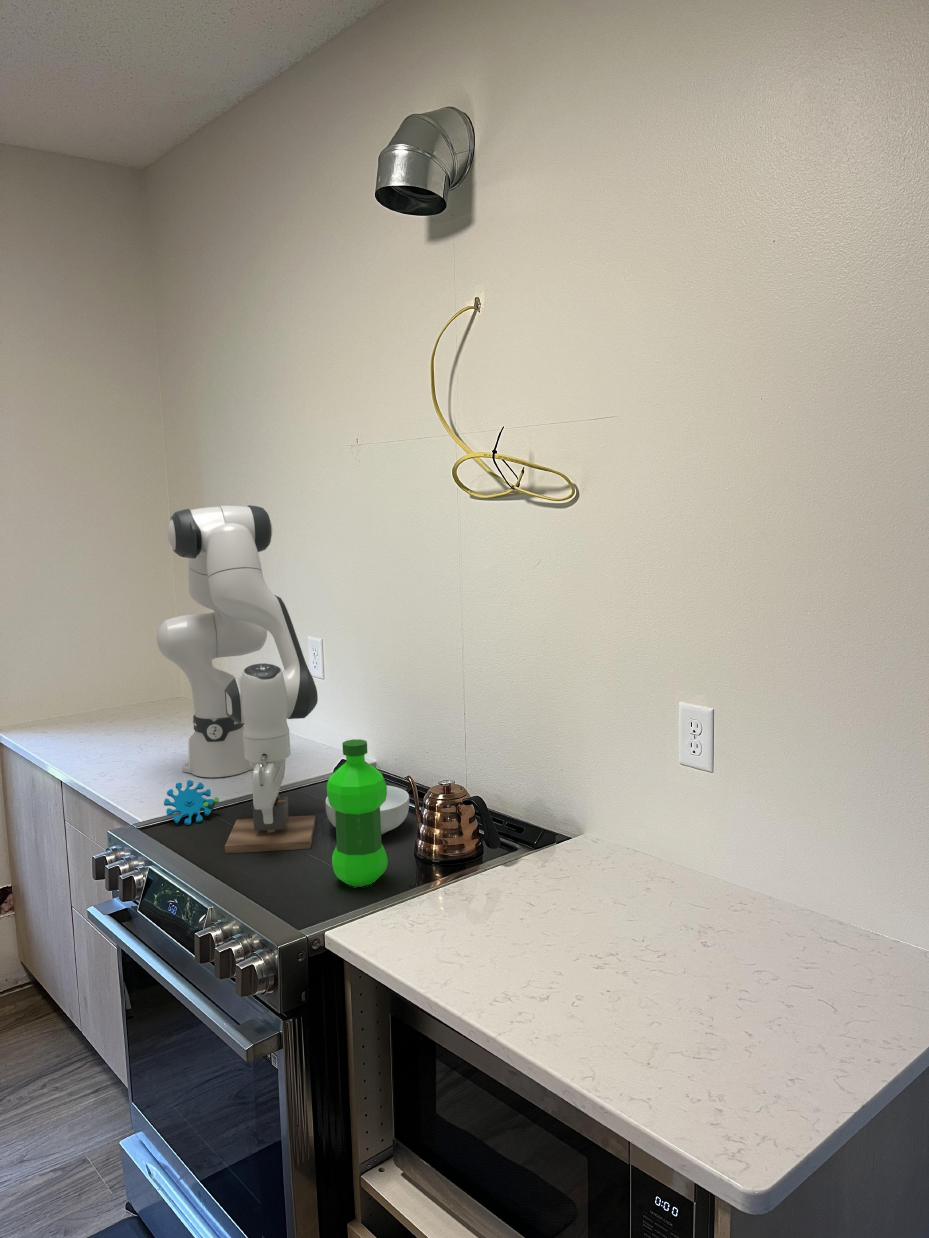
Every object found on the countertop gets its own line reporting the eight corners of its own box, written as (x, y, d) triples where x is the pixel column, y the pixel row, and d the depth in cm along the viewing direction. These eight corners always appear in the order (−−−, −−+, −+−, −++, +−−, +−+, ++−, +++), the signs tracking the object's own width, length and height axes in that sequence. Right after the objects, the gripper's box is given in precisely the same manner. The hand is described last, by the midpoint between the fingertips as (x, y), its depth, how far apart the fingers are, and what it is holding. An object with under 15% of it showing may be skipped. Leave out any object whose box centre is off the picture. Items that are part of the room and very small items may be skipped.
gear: (162, 822, 187) (165, 778, 193) (161, 834, 192) (164, 791, 198) (218, 822, 191) (219, 779, 197) (216, 834, 195) (217, 792, 201)
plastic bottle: (337, 868, 166) (331, 734, 163) (395, 869, 165) (390, 734, 161) (323, 893, 156) (316, 750, 153) (384, 894, 155) (379, 751, 152)
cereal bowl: (388, 851, 174) (387, 815, 173) (311, 841, 180) (309, 806, 178) (423, 819, 189) (422, 787, 188) (351, 811, 195) (349, 779, 194)
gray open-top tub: (258, 819, 184) (257, 797, 184) (288, 818, 185) (287, 795, 184) (254, 830, 178) (252, 807, 178) (285, 828, 179) (284, 805, 178)
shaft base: (237, 826, 188) (236, 819, 188) (315, 822, 190) (315, 815, 189) (225, 853, 174) (224, 845, 174) (310, 848, 176) (309, 841, 176)
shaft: (269, 827, 183) (268, 810, 183) (276, 827, 183) (275, 810, 183) (267, 832, 180) (266, 815, 180) (274, 832, 180) (273, 815, 180)
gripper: (277, 762, 169) (281, 834, 171) (288, 733, 189) (292, 798, 191) (242, 764, 169) (247, 836, 171) (257, 735, 189) (261, 799, 191)
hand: (271, 815), depth 181 cm, fingers closed on gray open-top tub, 6 cm apart
